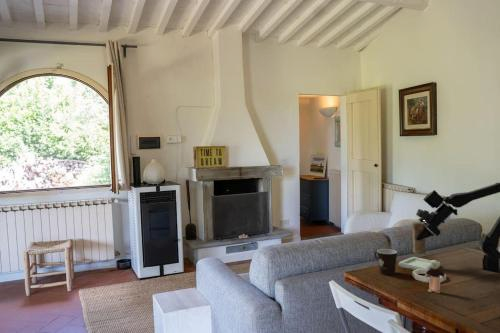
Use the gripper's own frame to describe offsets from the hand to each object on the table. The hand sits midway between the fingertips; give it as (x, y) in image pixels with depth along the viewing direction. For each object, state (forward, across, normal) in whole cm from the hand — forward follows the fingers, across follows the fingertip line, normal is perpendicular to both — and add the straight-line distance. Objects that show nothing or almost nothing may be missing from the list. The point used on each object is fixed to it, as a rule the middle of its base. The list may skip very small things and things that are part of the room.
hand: (415, 238), depth 190 cm
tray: (+8, 0, +10) cm, 13 cm away
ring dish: (+8, +16, +11) cm, 21 cm away
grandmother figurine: (+9, +33, +10) cm, 36 cm away
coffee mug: (+20, +10, -1) cm, 22 cm away
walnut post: (+4, 0, +6) cm, 7 cm away
